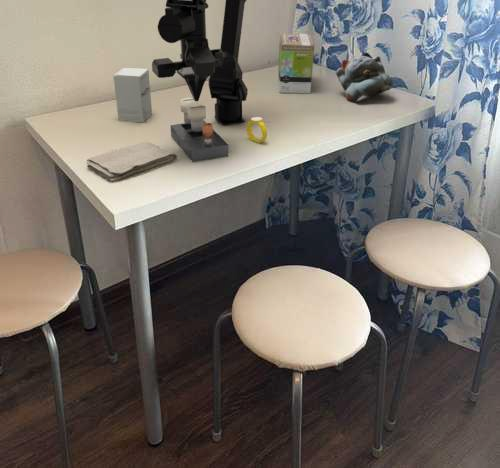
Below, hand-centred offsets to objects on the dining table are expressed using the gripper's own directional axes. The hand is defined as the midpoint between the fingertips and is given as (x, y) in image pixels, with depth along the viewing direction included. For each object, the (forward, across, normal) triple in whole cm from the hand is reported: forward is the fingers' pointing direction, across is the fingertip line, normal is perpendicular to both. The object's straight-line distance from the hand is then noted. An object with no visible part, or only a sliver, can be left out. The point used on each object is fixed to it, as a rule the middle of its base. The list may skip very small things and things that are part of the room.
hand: (196, 100), depth 137 cm
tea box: (+12, +43, +33) cm, 56 cm away
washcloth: (+12, -18, -4) cm, 22 cm away
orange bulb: (+8, 0, -8) cm, 11 cm away
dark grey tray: (+11, 0, -1) cm, 11 cm away
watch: (+12, +14, -3) cm, 19 cm away
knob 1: (+7, 0, +5) cm, 9 cm away
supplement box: (+12, -10, +25) cm, 29 cm away
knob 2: (+7, 0, 0) cm, 7 cm away
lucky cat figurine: (+12, +58, +16) cm, 61 cm away
